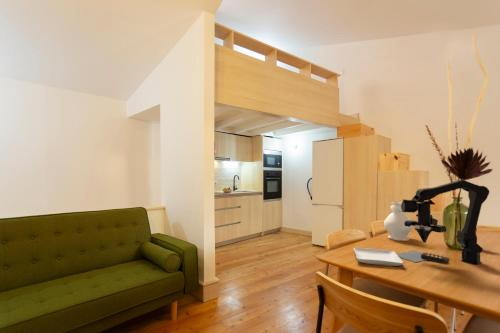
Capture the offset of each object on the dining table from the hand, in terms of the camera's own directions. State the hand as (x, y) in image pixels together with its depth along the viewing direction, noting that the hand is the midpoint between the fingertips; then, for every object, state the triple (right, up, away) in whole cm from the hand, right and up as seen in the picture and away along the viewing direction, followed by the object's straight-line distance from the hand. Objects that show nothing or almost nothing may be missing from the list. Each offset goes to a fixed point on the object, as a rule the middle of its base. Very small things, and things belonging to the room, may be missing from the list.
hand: (424, 242), depth 140 cm
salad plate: (-26, -10, 0) cm, 27 cm away
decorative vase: (+11, -10, +44) cm, 47 cm away
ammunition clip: (+2, -8, -3) cm, 9 cm away
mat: (-2, -9, +5) cm, 11 cm away
